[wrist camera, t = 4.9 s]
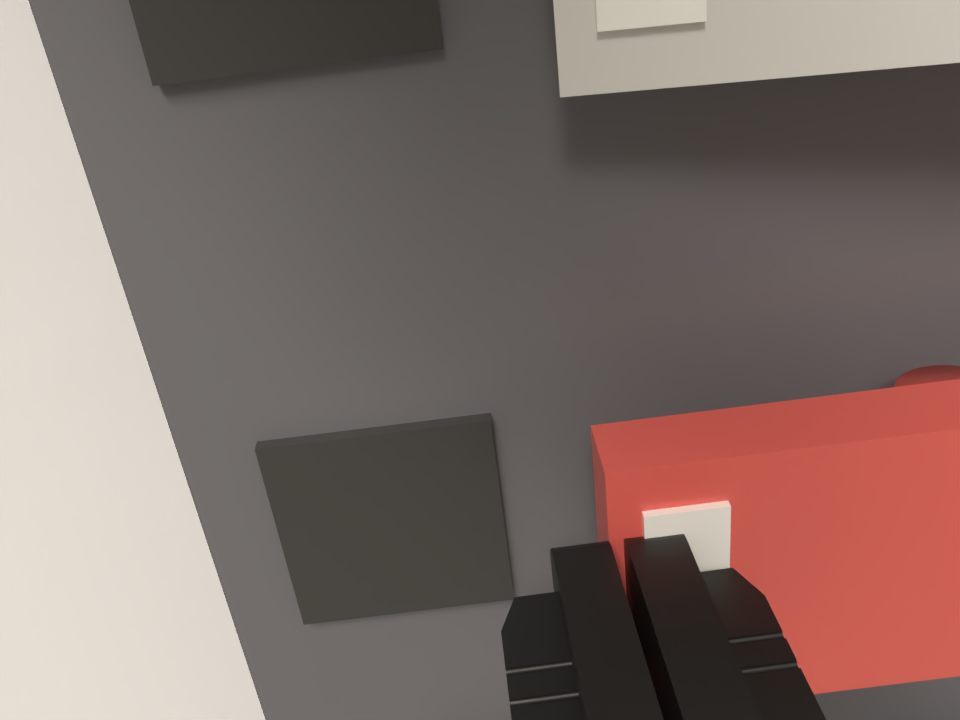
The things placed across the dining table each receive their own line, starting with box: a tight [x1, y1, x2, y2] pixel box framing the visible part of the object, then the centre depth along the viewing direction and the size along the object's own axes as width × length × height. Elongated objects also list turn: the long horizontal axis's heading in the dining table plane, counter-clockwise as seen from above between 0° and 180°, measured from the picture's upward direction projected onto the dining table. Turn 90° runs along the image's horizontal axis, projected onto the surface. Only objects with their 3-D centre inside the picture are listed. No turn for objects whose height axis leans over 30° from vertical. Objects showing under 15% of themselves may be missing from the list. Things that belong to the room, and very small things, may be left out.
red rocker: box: [590, 365, 960, 694], centre depth 12 cm, size 9×4×2 cm, turn 97°
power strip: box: [29, 0, 960, 720], centre depth 15 cm, size 15×25×4 cm, turn 7°
